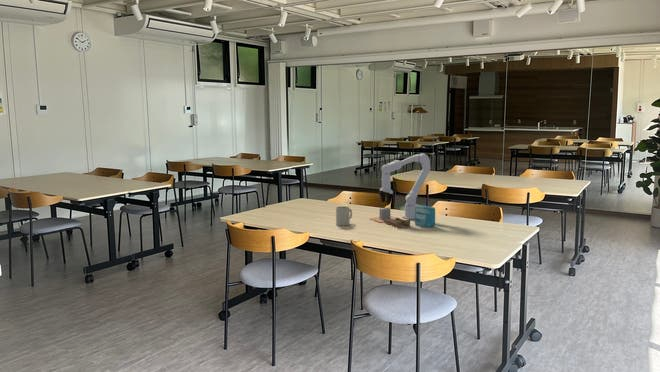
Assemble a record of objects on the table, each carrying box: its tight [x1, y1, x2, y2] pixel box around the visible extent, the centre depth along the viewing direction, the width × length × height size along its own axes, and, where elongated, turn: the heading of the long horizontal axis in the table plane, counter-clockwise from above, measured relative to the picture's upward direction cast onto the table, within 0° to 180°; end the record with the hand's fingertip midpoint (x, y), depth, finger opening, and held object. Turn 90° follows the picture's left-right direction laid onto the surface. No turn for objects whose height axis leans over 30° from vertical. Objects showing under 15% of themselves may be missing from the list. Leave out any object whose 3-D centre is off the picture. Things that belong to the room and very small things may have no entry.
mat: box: [369, 215, 397, 224], centre depth 343 cm, size 16×13×1 cm
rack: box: [383, 217, 411, 228], centre depth 328 cm, size 10×16×4 cm, turn 22°
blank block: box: [379, 207, 391, 220], centre depth 342 cm, size 6×4×7 cm, turn 112°
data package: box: [414, 205, 436, 228], centre depth 323 cm, size 12×4×12 cm, turn 49°
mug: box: [335, 205, 353, 227], centre depth 331 cm, size 12×8×11 cm
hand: (386, 202), depth 347 cm, fingers open, 7 cm apart
